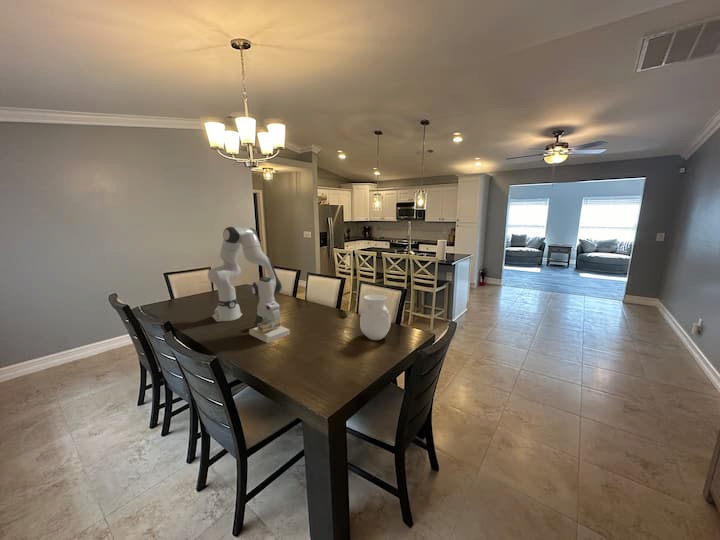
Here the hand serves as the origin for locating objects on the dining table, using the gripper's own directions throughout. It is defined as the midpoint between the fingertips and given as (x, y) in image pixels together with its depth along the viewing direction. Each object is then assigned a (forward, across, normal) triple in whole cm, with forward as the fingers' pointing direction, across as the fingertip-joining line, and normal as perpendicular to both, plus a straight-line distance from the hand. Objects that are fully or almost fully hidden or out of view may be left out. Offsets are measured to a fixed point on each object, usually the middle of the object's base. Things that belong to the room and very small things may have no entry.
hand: (269, 325), depth 177 cm
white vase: (+6, +54, +38) cm, 66 cm away
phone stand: (+6, -15, +4) cm, 17 cm away
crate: (-2, 0, 0) cm, 2 cm away
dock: (+6, 0, 0) cm, 6 cm away
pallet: (+2, 0, 0) cm, 2 cm away
